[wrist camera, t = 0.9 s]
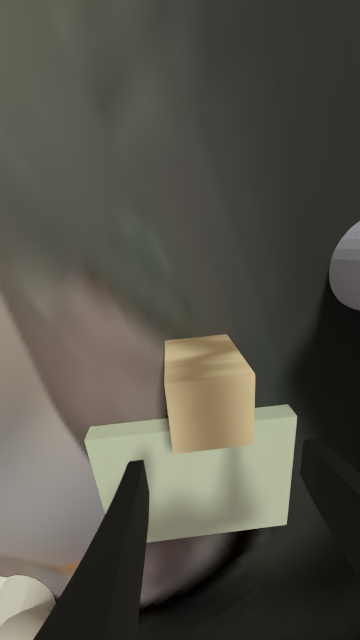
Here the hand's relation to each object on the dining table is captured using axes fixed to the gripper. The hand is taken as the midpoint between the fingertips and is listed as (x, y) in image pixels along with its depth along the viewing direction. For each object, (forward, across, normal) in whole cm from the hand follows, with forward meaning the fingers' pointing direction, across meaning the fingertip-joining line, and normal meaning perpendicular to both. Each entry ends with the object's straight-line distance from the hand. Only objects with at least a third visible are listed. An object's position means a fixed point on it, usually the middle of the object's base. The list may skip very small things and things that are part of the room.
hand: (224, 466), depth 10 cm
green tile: (+9, +1, +12) cm, 15 cm away
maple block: (+9, 0, 0) cm, 9 cm away
